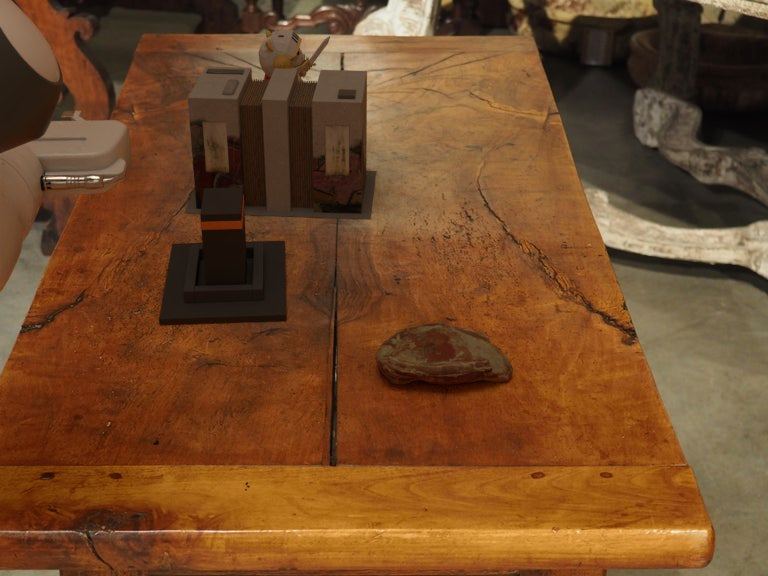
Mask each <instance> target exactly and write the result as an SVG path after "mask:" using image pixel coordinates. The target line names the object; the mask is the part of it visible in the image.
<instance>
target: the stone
mask: <svg viewBox="0 0 768 576" xmlns="http://www.w3.org/2000/svg"><path fill="white" fill-rule="evenodd" d="M375 362H376V364H377V368H378V370H379V372H381V373H382V374H383V376H384V377H385V378H386V379H388V380H389V381H390V383H391V384H395V385H401V386H402V385H404V384H409V383H412V382H414V381H415V382H418V381H422V382H426V383H428V384H433V385H434V384H435V385H446V386H447V385H451V386H453V385H458V384H464V383H473V382H475V383H476V382H478V381H489V382H495V383H497V382H498V383H501V382H508V381H510V379H511V377H512V375H513V370H514V369H513V365H512V363H511V361H510V359H509V357H508V356H507V355H506V353H505V354H504V353H503V352H502V351H501V349H500V348H498V347H497V346H496V345H494V344H492V343H491V340H490V338H489V337H487V336H486V334H484V333H483V332H480V331H477V330H472V329H469V328H466V327H463V326H462V327H461V326H455V325H450V324H448V323H446V322H440V321H437V322H428V323H421V324H416V325H413V326H410V327H405V328H404V329H401V330H400V331H398V332H397V333H395V334H393V335H392V336H390V337H389V338H387V339H386V340H385V341H384V342H382V343H381V345H380V347H379V348H378V350H377V351H376V353H375Z"/></svg>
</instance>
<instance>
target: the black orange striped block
mask: <svg viewBox="0 0 768 576" xmlns="http://www.w3.org/2000/svg"><path fill="white" fill-rule="evenodd" d="M199 216H200V231H201V243H203V256H204V268H205V281H206V286H212V285H245V284H246V274H247V252H246V242H247V236H246V220H245V219H246V218H245V217H246V215H244V194H243V188H242V187H241V188H204V192H203V199H202V206H201V213H199Z"/></svg>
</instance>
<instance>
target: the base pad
mask: <svg viewBox="0 0 768 576" xmlns="http://www.w3.org/2000/svg"><path fill="white" fill-rule="evenodd" d="M246 252H247V274H246V284H245V285H212V286H206V281H205V268H204V256H203V243H202V242H184V243H172V244H171V249H170V253H169V254H170V255H169V259H168V260H169V261H168V264H167V265H168V266H167V271H166V276H165V283H164V289H163V293H162V294H163V295H162V300H161V305H160V310H159V317H158V322H159V324H158V325H161V326H162V325H163V326H164V325H165V326H166V325H192V324H193V325H194V324H222V323H224V324H225V323H251V322H253V323H254V322H281V321H283V322H284V321H287V281H286V279H287V278H286V277H287V275H286V241H285V240H257V241H255V240H254V241H253V240H252V241H246Z"/></svg>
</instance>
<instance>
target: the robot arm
mask: <svg viewBox="0 0 768 576" xmlns="http://www.w3.org/2000/svg"><path fill="white" fill-rule="evenodd" d="M63 82H64V77H63V72H62V69H61V65H60V63H59V61H58V59H57V57H56V55H55V53H54V51H53V48H52V47H51V45H50V44H49V42H48V40H47V39H46V38H45V36H44V34H43V33H42V32H41V30H40V29H39V28H38V27H37V25H36V24H35V23H34V22H33V21H32V19H31V18H30V17H29V15H27V14H26V12H25V11H24V10H23V9H22V8H21V6H20V5H19V4H18V3H17V1H16V0H0V293H2V291H3V290H4V288H5V286H6V284H7V283H8V281H9V280H10V278H11V276H12V274H13V271H14V270H15V267H16V265H17V263H18V261H19V259H20V255H21V254H22V250H23V249H22V248H23V243H24V241H25V240H26V238H27V237H28V235H29V234H30V232H31V231H32V230H31V229H32V227H33V225H34V223H35V220H36V217H37V216H38V213H39V210H40V208H41V206H42V204H43V201H44V198H45V196H74V195H75V196H77V195H78V196H79V195H80V196H81V195H96V194H101V193H105V192H108V191H111V190H112V189H114V188H115V187H116V186H117V185H118V184H119V183H121V182H123V181H124V180H125V178H126V175H127V171H128V169H129V167H130V166H131V161H132V146H131V145H132V144H131V137H130V131H129V127H128V125H127V124H125V123H124V122H122V121H121V120H117V119H105V120H104V119H96V120H86V119H84V117H83V111H82V110H64V111H63V112H62V115H61V119H60V120H53V118H54V115H55V113H56V110H57V108H58V104H59V101H60V97H61V93H62V88H63Z"/></svg>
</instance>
